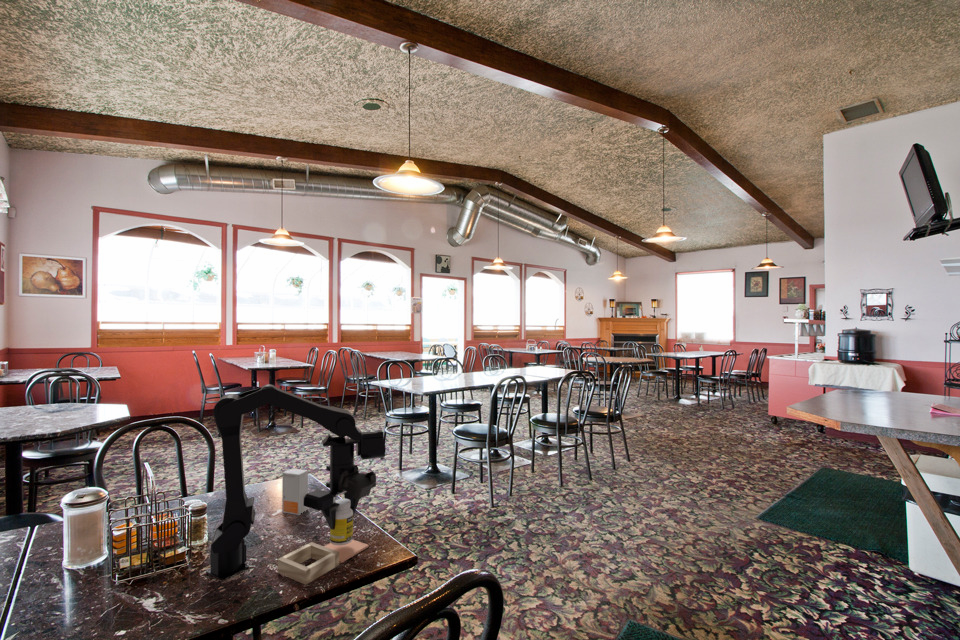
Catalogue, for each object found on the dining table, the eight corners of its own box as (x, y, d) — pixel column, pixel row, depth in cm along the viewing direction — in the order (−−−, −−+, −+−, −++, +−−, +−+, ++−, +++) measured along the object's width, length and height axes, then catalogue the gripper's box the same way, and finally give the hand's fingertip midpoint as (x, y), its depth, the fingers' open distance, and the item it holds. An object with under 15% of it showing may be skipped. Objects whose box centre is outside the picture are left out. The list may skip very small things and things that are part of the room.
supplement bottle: (349, 546, 113) (349, 506, 113) (326, 546, 113) (327, 505, 113) (355, 536, 119) (355, 497, 119) (334, 535, 119) (334, 497, 119)
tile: (341, 563, 110) (341, 561, 110) (314, 553, 115) (314, 551, 115) (368, 546, 118) (368, 544, 118) (342, 538, 122) (342, 536, 122)
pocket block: (305, 584, 101) (305, 571, 101) (277, 572, 106) (277, 559, 106) (339, 564, 109) (339, 552, 109) (311, 554, 114) (311, 542, 114)
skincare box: (281, 513, 137) (281, 472, 137) (291, 507, 142) (291, 467, 141) (299, 515, 136) (299, 474, 136) (308, 510, 140) (308, 469, 140)
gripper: (335, 478, 104) (335, 549, 104) (392, 457, 120) (391, 518, 120) (302, 469, 109) (301, 536, 109) (360, 450, 125) (359, 508, 126)
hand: (341, 524), depth 116 cm, fingers closed on supplement bottle, 5 cm apart
